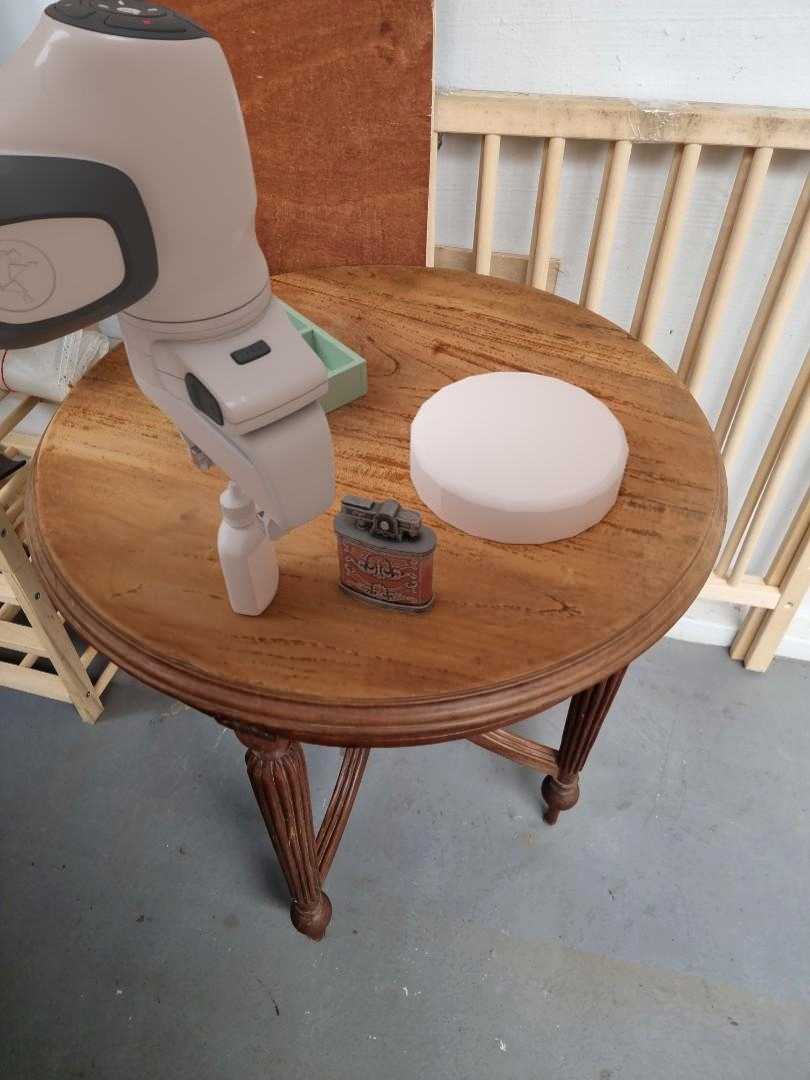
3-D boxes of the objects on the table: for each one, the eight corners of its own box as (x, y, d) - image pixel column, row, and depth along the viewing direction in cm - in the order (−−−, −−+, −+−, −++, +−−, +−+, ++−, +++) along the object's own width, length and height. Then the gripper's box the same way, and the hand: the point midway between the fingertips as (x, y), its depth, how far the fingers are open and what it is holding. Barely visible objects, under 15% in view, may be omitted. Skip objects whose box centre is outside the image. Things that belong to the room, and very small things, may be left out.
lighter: (439, 590, 64) (443, 502, 56) (426, 621, 61) (429, 534, 54) (348, 565, 65) (341, 477, 58) (332, 595, 63) (323, 507, 56)
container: (546, 385, 83) (552, 347, 80) (664, 502, 71) (678, 464, 67) (375, 436, 77) (374, 398, 74) (472, 574, 65) (476, 535, 61)
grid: (225, 463, 74) (217, 429, 71) (140, 381, 83) (130, 348, 80) (367, 393, 82) (366, 360, 79) (276, 325, 91) (271, 293, 88)
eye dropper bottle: (299, 583, 64) (283, 475, 55) (249, 625, 61) (223, 518, 52) (263, 558, 66) (241, 450, 57) (212, 598, 63) (181, 490, 54)
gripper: (75, 277, 50) (133, 443, 60) (246, 431, 39) (281, 601, 49) (164, 246, 53) (204, 410, 63) (346, 382, 42) (359, 553, 52)
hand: (239, 495), depth 56 cm, fingers open, 8 cm apart
